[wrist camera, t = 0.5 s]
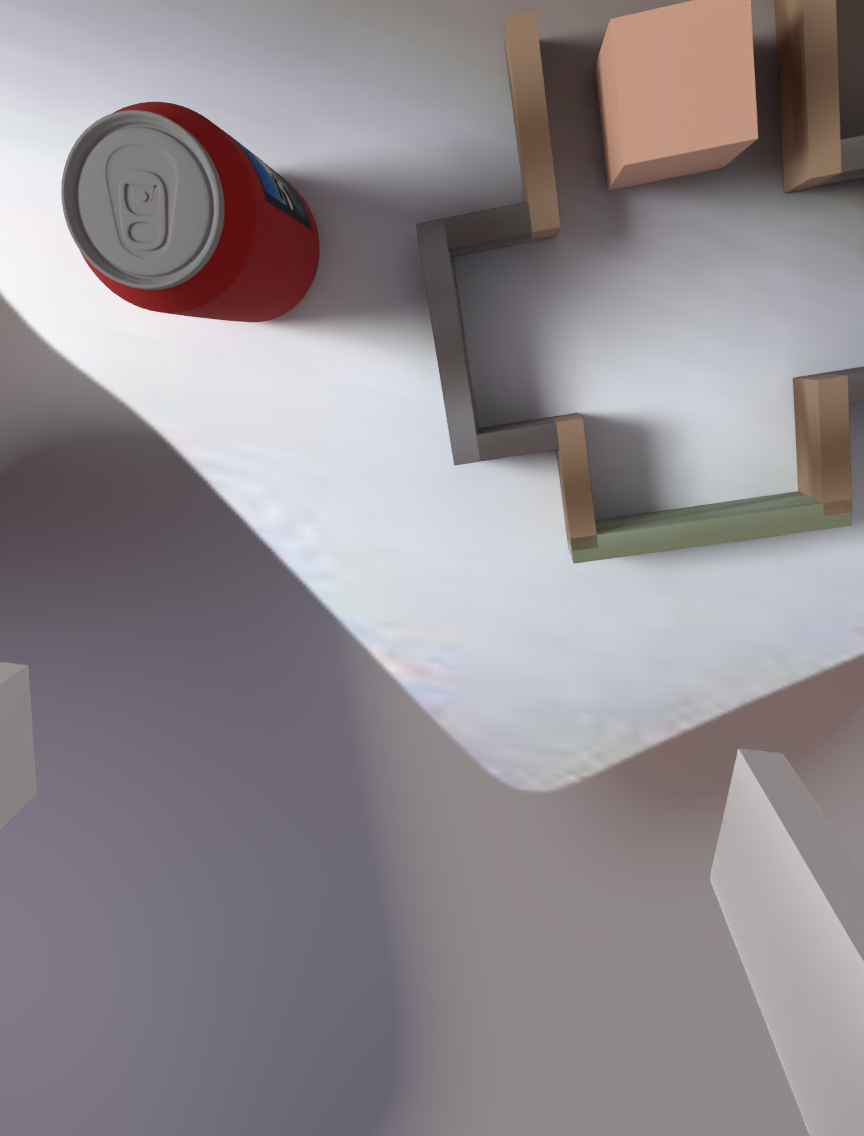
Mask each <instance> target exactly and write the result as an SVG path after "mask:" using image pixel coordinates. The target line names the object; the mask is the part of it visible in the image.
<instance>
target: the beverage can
mask: <svg viewBox="0 0 864 1136" xmlns="http://www.w3.org/2000/svg"><path fill="white" fill-rule="evenodd" d="M62 205H63V211H64V216H65V219H66V222H67V226H68V229H69V231H70V233H71V235H72V237H73V239H74V241H75V243H76V245H77V246H78V248H79V250H80V252H81V253H82V255H83V257H84V259H85V261H86V262H87V264H88V265H89V267H90V268H91V269H92V271H93V272H94V273H95V275H96V276H97V277H98V278H99V279H100V280H101V281H102V282H103V283H104V284H105V285H106V286H107V287H108V288H109V289H110V290H111V291H112V292H114V293H115V294H117V295H118V296H119V297H121V298H122V299H124V300H126V301H128V302H130V303H132V304H134V305H136V306H138V307H141V308H144V309H147V310H151V311H156V312H163V313H170V314H177V315H184V316H192V317H201V318H210V319H219V320H228V321H241V322H261V321H267V320H271V319H274V318H276V317H279V316H281V315H283V314H284V313H286V312H288V311H289V310H290V309H292V308H293V307H294V306H295V305H296V304H297V303H298V302H299V301H300V300H301V299H302V298H303V297H304V295H305V294H306V292H307V291H308V289H309V288H310V286H311V284H312V281H313V279H314V277H315V273H316V270H317V266H318V260H319V237H318V232H317V227H316V224H315V221H314V218H313V215H312V213H311V211H310V209H309V207H308V205H307V204H306V202H305V201H304V199H303V198H302V196H301V195H300V194H299V193H298V192H297V191H296V189H295V188H294V187H292V186H291V185H290V184H289V183H288V182H287V181H286V180H285V179H283V178H282V177H281V176H280V175H279V174H278V173H276V172H275V171H274V170H273V169H271V168H270V167H269V166H268V165H267V164H265V163H264V162H263V161H262V160H260V159H259V158H258V157H257V156H255V155H254V154H253V153H252V152H250V151H249V150H248V149H246V148H245V147H244V146H243V145H241V144H240V143H239V142H237V141H236V140H235V139H234V138H232V137H231V136H230V135H228V134H227V133H226V132H224V131H223V130H222V129H220V128H219V127H218V126H216V125H215V124H214V123H212V122H211V121H210V120H208V119H207V118H205V117H204V116H202V115H200V114H199V113H197V112H195V111H193V110H191V109H188V108H186V107H183V106H179V105H176V104H171V103H165V102H146V103H139V104H135V105H131V106H128V107H125V108H122V109H120V110H118V111H116V112H114V113H112V114H110V115H107V116H105V117H103V118H101V119H100V120H98V121H96V122H95V123H93V124H92V125H91V126H90V127H89V128H87V129H86V130H85V131H84V132H83V133H82V135H81V136H80V137H79V138H78V140H77V141H76V142H75V144H74V146H73V148H72V149H71V151H70V153H69V156H68V158H67V161H66V164H65V168H64V172H63V178H62Z"/></svg>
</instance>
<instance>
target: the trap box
mask: <svg viewBox="0 0 864 1136" xmlns="http://www.w3.org/2000/svg"><path fill="white" fill-rule="evenodd" d="M775 14H776V35H777V55H778V76H779V97H780V118H781V138H782V159H783V180H784V193H788V192H793V191H798V190H804V189H809V188H814V187H819V186H824V185H830V184H835V183H840V182H845V181H851V180H856V179H861V178H864V135H862V136H857V137H852V138H847V139H842V140H840V111H839V79H838V46H837V14H836V0H775ZM505 50H506V58H507V66H508V74H509V82H510V90H511V98H512V106H513V113H514V121H515V129H516V137H517V145H518V153H519V161H520V169H521V177H522V185H523V192H524V200H525V202H524V203H519V204H514V205H509V206H504V207H499V208H494V209H489V210H484V211H479V212H473V213H468V214H463V215H458V216H453V217H448V218H443V219H438V220H433V221H428V222H423V223H418V224H416V230H417V236H418V242H419V248H420V255H421V261H422V267H423V273H424V280H425V286H426V292H427V298H428V304H429V311H430V317H431V323H432V329H433V336H434V342H435V348H436V354H437V360H438V367H439V373H440V379H441V385H442V391H443V398H444V404H445V410H446V416H447V423H448V429H449V435H450V441H451V447H452V454H453V460H454V465H460V464H467V463H473V462H480V461H486V460H492V459H499V458H505V457H512V456H518V455H524V454H531V453H537V452H544V451H550V450H556V453H557V461H558V469H559V476H560V484H561V492H562V500H563V508H564V516H565V524H566V532H567V540H568V548H569V551H570V554H571V557H572V560H573V563H581V562H588V561H595V560H603V559H610V558H617V557H624V556H632V555H639V554H646V553H654V552H661V551H668V550H676V549H683V548H690V547H697V546H705V545H712V544H719V543H727V542H734V541H741V540H749V539H756V538H763V537H770V536H778V535H785V534H792V533H800V532H807V531H814V530H821V529H829V528H836V527H843V526H851V525H852V500H851V468H850V435H849V404H851V403H857V402H864V367H858V368H852V369H845V370H839V371H833V372H827V373H821V374H815V375H808V376H802V377H796V378H793V387H794V408H795V428H796V449H797V470H798V492H791V493H785V494H778V495H771V496H764V497H757V498H750V499H743V500H736V501H729V502H722V503H715V504H708V505H701V506H694V507H687V508H680V509H673V510H666V511H659V512H652V513H645V514H638V515H631V516H624V517H617V518H610V519H603V520H596V521H595V516H594V507H593V499H592V490H591V482H590V473H589V465H588V456H587V448H586V439H585V430H584V422H583V418H582V417H581V416H580V415H579V414H578V413H573V414H567V415H561V416H555V417H549V418H543V419H536V420H530V421H524V422H518V423H512V424H505V425H499V426H493V427H487V428H481V429H478V423H477V417H476V410H475V403H474V397H473V390H472V384H471V377H470V370H469V364H468V357H467V350H466V344H465V337H464V331H463V324H462V317H461V311H460V304H459V298H458V291H457V284H456V278H455V271H454V264H453V258H452V257H454V256H459V255H464V254H469V253H474V252H480V251H485V250H490V249H495V248H501V247H506V246H511V245H516V244H521V243H527V242H532V241H537V240H542V239H548V238H553V237H556V236H557V234H558V232H559V229H560V227H561V225H560V216H559V208H558V199H557V190H556V182H555V173H554V165H553V156H552V148H551V139H550V131H549V122H548V113H547V105H546V96H545V88H544V79H543V71H542V62H541V53H540V45H539V36H538V28H537V19H536V11H535V10H534V11H529V12H525V13H521V14H516V15H512V16H508V17H505Z"/></svg>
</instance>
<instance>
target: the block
mask: <svg viewBox="0 0 864 1136" xmlns="http://www.w3.org/2000/svg"><path fill="white" fill-rule="evenodd" d="M595 70H596V80H597V90H598V100H599V110H600V119H601V129H602V139H603V149H604V159H605V169H606V179H607V188H608V191H609V190H614V189H619V188H624V187H629V186H635V185H640V184H645V183H650V182H655V181H660V180H665V179H670V178H675V177H680V176H685V175H690V174H695V173H700V172H705V171H711V170H716V169H721V168H723V167H725V166H726V165H727V164H728V163H729V162H731V161H732V160H733V159H734V158H735V157H737V156H738V155H739V154H740V153H741V152H743V151H744V150H745V149H746V148H747V147H749V146H750V145H751V144H752V143H753V142H755V141H756V140H757V139H758V126H757V108H756V90H755V71H754V53H753V35H752V17H751V0H693V1H688V2H684V3H680V4H675V5H671V6H666V7H662V8H657V9H653V10H648V11H644V12H640V13H635V14H631V15H626V16H622V17H617V18H613V19H610V22H609V25H608V28H607V31H606V34H605V37H604V40H603V43H602V46H601V49H600V53H599V56H598V59H597V62H596V65H595Z"/></svg>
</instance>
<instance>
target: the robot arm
mask: <svg viewBox="0 0 864 1136" xmlns="http://www.w3.org/2000/svg"><path fill="white" fill-rule="evenodd" d="M36 794H37V789H36V775H35V761H34V746H33V731H32V717H31V702H30V688H29V673H28V666H27V665H20V664H11V663H3V662H0V829H1V828H2V827H3V826H4V825H5V824H6V823H7V822H8V821H9V820H10V819H11V818H12V817H13V816H14V815H15V814H16V813H17V812H18V811H19V810H20V809H21V808H22V807H23V806H24V805H26V804H27V803H28V802H29V801H30V800H31V799H32V798H33V797H34V796H35V795H36ZM710 881H711V884H712V886H713V889H714V891H715V894H716V896H717V899H718V902H719V904H720V907H721V909H722V912H723V915H724V917H725V920H726V922H727V925H728V927H729V930H730V933H731V935H732V938H733V940H734V943H735V945H736V948H737V951H738V953H739V956H740V958H741V961H742V963H743V966H744V969H745V971H746V974H747V976H748V979H749V981H750V984H751V987H752V989H753V991H754V994H755V997H756V999H757V1002H758V1004H759V1007H760V1010H761V1012H762V1015H763V1017H764V1020H765V1023H766V1025H767V1027H768V1030H769V1033H770V1035H771V1038H772V1040H773V1043H774V1046H775V1048H776V1051H777V1053H778V1056H779V1059H780V1061H781V1064H782V1066H783V1069H784V1071H785V1074H786V1077H787V1079H788V1081H789V1084H790V1087H791V1089H792V1092H793V1094H794V1097H795V1100H796V1102H797V1105H798V1107H799V1110H800V1112H801V1115H802V1117H803V1120H804V1123H805V1125H806V1128H807V1131H808V1133H809V1136H864V872H863V870H862V869H861V867H860V866H859V865H858V863H857V862H856V860H855V859H854V857H853V856H852V854H851V853H850V851H849V850H848V849H847V847H846V846H845V844H844V843H843V841H842V840H841V838H840V837H839V835H838V834H837V832H836V831H835V829H834V828H833V827H832V825H831V824H830V822H829V821H828V819H827V818H826V816H825V815H824V813H823V812H822V811H821V809H820V808H819V806H818V805H817V803H816V802H815V800H814V799H813V797H812V796H811V795H810V793H809V792H808V790H807V789H806V787H805V786H804V784H803V783H802V781H801V780H800V778H799V777H798V776H797V774H796V773H795V771H794V770H793V769H792V767H791V766H790V764H789V763H788V761H787V759H786V758H785V757H784V755H783V754H782V753H773V752H765V751H757V750H747V749H738V753H737V757H736V762H735V766H734V771H733V775H732V780H731V784H730V789H729V794H728V798H727V803H726V807H725V812H724V816H723V821H722V825H721V830H720V834H719V839H718V843H717V848H716V852H715V857H714V862H713V866H712V871H711V875H710Z"/></svg>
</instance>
